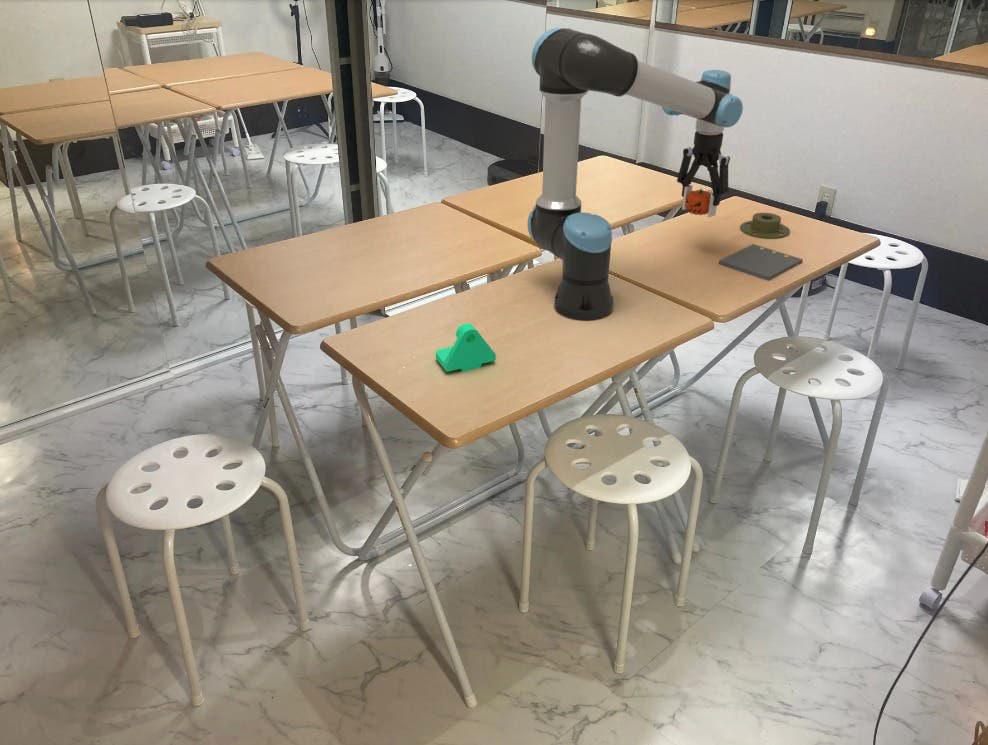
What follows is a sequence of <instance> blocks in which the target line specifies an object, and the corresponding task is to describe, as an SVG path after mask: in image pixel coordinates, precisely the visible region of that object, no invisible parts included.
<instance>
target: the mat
mask: <svg viewBox="0 0 988 745" xmlns="http://www.w3.org/2000/svg"><path fill="white" fill-rule="evenodd" d="M803 260H804V259H803V258H799V257H796V256H793V255H791V254H790V255H789V254H787V253H784V252H781V251H777V250H773V249H771V248H768V247H764V246H762V245H757V244H754V243H752V244H750V245H749V246H748V245H747V246H745V247H744V248H742V249H741V250H738V251H736V252H734V253H732V254H729V255H728V256H726V257H723V258H721V259H719V260H718V264H719V265H722V266H725V267H728V268H730V269H733V270H736V271H739V272H742V273H745V274H748V275H751V276H754V277H756V278H759V279H763V280H766V281H771V280H772V279H774V278H776V277H778V276H781V274H783V273H786V272H787V271H789V270H791V269H793V268H795V267H797V266H798V265H800V264H802V263H803Z"/></svg>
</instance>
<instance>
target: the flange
mask: <svg viewBox="0 0 988 745" xmlns="http://www.w3.org/2000/svg"><path fill="white" fill-rule="evenodd" d="M781 222H782V217H781V216H780V215H778V214H775V213H771V212H770V213H769V212H756V213H754V214H752V219H751V220H748V221H744V222H743V223H741V224H740V226H739V230H740V231H741V232H742V233H743V234H745V235H747V236H749V237H753V238H756V239H762V240H763V239H764V240H778V239H784V238H786V237H789V235H790V234H791V229H790V228H789V227H788V226H786V225H784V224H782V223H781Z"/></svg>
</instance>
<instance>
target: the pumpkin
mask: <svg viewBox="0 0 988 745" xmlns="http://www.w3.org/2000/svg"><path fill="white" fill-rule="evenodd" d="M711 194H712V193H710V191H706V190H703V189H702V188H700V190H699V189H697V190H692V192H691V193H689V194H688V195H687V197H686V200H685V206H686V208H687V209H686V210H687V211H688V212H689V213H690V214H692V215H695V216H703V215H708V211H709V204H710V197H711Z"/></svg>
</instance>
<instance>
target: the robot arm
mask: <svg viewBox="0 0 988 745" xmlns="http://www.w3.org/2000/svg"><path fill="white" fill-rule="evenodd" d="M531 64H532V67H533V70H534V71H535V73H536V74H537V75H538V76H539V89H538V90H539V92H540V93H541V95H542V96H544V97H545V105H544V106H545V108H544V127H543V128H544V130H543V132H544V133H543V134H544V135H543V161H542V162H543V163H542V187H541V189H542V190H541V191H542V192H541V195H540V196H538V197H537V199H536V200H535V205H534V207H533V208H532V211H530V212H529V214H528V217H527V231H528V235H529V236H530V238H531V239H532V240H533V241H534V242H535V243H536V245H537V246H539V247H540V248H542V249H544V250H546V251H548V252H549V253H551V254H552V255H554V256H555V257H557V258H559V259H560V260H561V261H562V269H561V270H562V274H561V279H560V283H559V285H558V288H557V291H556V293H555V294H554V304H553V308H554V310H555V311H556V312H557V314H560V315H561V316H563V317H566V318H568V319H573V320H579V321H593V320H600V319H603V318H605V317H607V316H609V315H610V314H612V312H613V311H614V303H615V302H614V301H615V300H614V296H613V295H612V292H611V288H610V287H611V286H610V283H609V282H610V281H609V274H610V272H609V271H610V261H611V249H612V242H613V237H612V226H611V223H610V222H609V221H608V220H607V219H606V218H604V217H603V216H601V215H599V214H596V213H594V214H592V213H591V212H582V200H581V199H580V198H579V196H577V183H578V182H577V181H578V163H579V146H580V145H579V144H580V131H581V130H580V128H581V125H580V124H581V111H582V109H581V108H582V99H583V97H585V95H587V94H588V92H590V91H591V92H597V93H603V94H609V95H611V96H615V97H619V98H620V97H621V98H622V97H623V96H629V97H632V98H636V99H639V100H641V101H645V102H648V103H651V104H654V105H656V106H659V107H661V108H662V111H663V112H664V114H666V115H668V116H679V115H684V116H688V117H691V118H693V119H696V122H695V127H694V128H695V130H696V131H695V132H694V138H693V148H692V147H686V148H683V151H682V152H683V153H682V155H683V157H682V161H681V164H680V167H679V170H678V171H679V172H678V176H677V179H676V182H677V183H679V184H681V186H682V188H681V190H682V191H681V197H682V198H683V200H682V206H681V209H682V210H687V208H686V206H685V200H686V197H687V195H688V194H689V193H691V192H692V191H693V185H692V184H693V183H692V181H693V180H694V178H695V176H696V175H697V172H698V170H699V168H700V167H701V166H703V167H705V168H706V169H707V171H708V175H709V177H710V183H711V188H712V192H713V193H710V194H711V197H710V204H709V211H708V213H707V218H712V217H715V216H716V215H717V214H716V213H717V207H718V206H719V205H720V204H721V198H722V195H724V194H726V193H729V163H730V160H731V157H730V156H725V155H723V154H722V151H721V148H722V145H723V138H724V133H723V132H724V131H725V128H731V127H734V126H735V125H736V124H737V123H738V122H739V120H740V119H741V117H742V114H743V110H744V108H743V102H742V100H741V98H739V96H735V95H733V94H732V93H730V91H731V82H732V79H731V78H732V75H731V73H730V72H729V71H726V70H720V69H708V70H705V71H703V72H702V74H701V75H702V76H701V78H700V80H698V81H693V80H691V79H688V78H686V77H682V76H680V75H677V74H674V73H672V72H669V71H667V70H664V69H660V68H659V67H656V66H653V65H650V64H647V63H645V62H643V61H640V60H639V59H638V57H637V56H636V54H634V53H632V52H630V51H627V50H625V49H623V48H621V47H619V46H617V45H614V44H612V43H611V42H609V41H608V40H605V39H604V38H602V37H599V36H597V35H594V34H591V33H585V32H581V31H578V30H574V29H572V28H568V27H567V28H566V27H555V28H554V27H553V28H550V29H548V30H546V31H545V32H544V33H542V35H541V36H539V38H538V39H537V40H536V42H535V44H534V45H533V49H532V53H531ZM692 157H693V158H694V159H693V161H692ZM718 160H719V161H718ZM691 161H692V162H691ZM690 164H691V166H690ZM718 164H719V165H718Z"/></svg>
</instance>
